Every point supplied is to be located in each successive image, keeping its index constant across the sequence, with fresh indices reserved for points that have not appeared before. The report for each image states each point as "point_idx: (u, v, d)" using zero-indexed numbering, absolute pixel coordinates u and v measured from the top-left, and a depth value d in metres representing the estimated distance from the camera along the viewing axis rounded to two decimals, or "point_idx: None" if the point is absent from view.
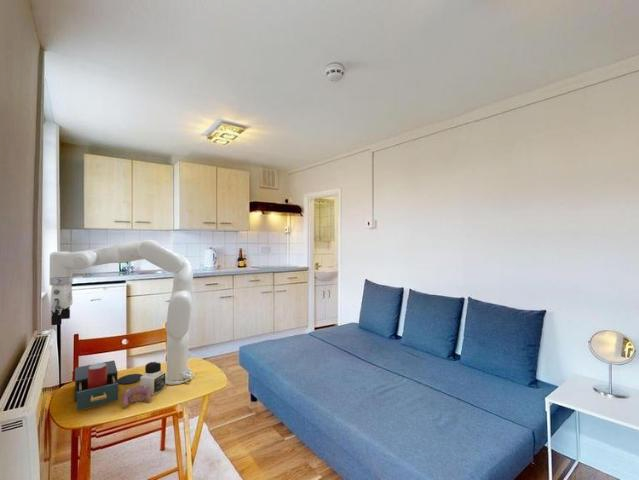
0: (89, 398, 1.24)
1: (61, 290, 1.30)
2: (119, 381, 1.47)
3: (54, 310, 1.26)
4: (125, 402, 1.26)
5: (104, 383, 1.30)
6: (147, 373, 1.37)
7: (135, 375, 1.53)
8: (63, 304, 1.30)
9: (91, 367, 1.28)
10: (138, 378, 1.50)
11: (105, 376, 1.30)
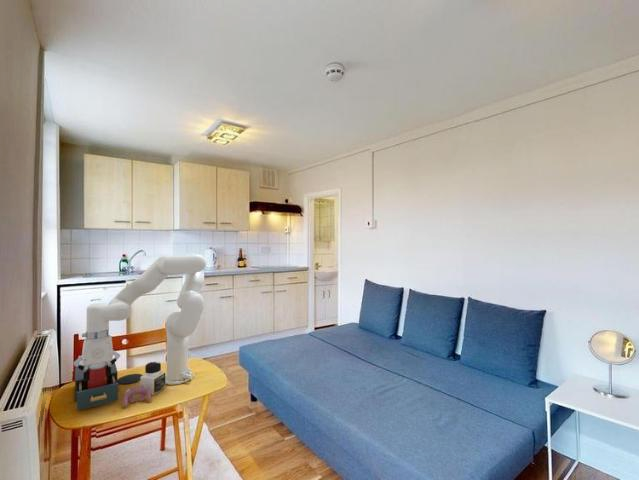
0: (89, 398, 1.24)
1: (83, 345, 1.26)
2: (119, 381, 1.47)
3: None
4: (125, 402, 1.26)
5: (104, 383, 1.30)
6: (147, 373, 1.37)
7: (135, 375, 1.53)
8: (82, 360, 1.25)
9: (91, 367, 1.28)
10: (138, 378, 1.50)
11: (105, 376, 1.30)
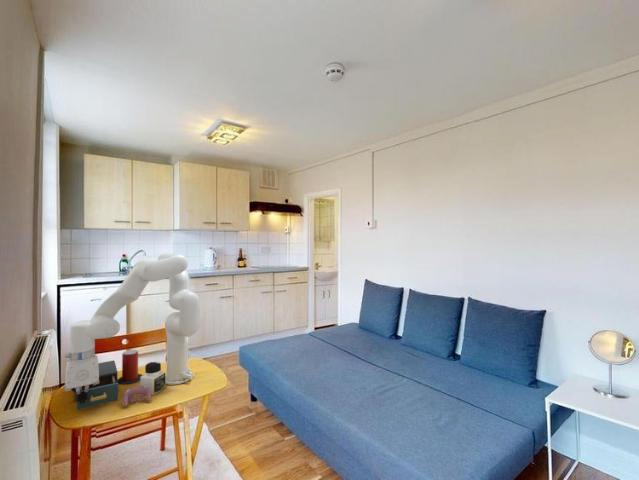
0: (89, 398, 1.24)
1: (66, 367, 1.17)
2: (119, 381, 1.47)
3: (70, 388, 1.19)
4: (125, 402, 1.26)
5: (125, 369, 1.46)
6: (147, 373, 1.37)
7: None
8: (65, 383, 1.16)
9: None
10: (138, 378, 1.50)
11: (126, 364, 1.46)
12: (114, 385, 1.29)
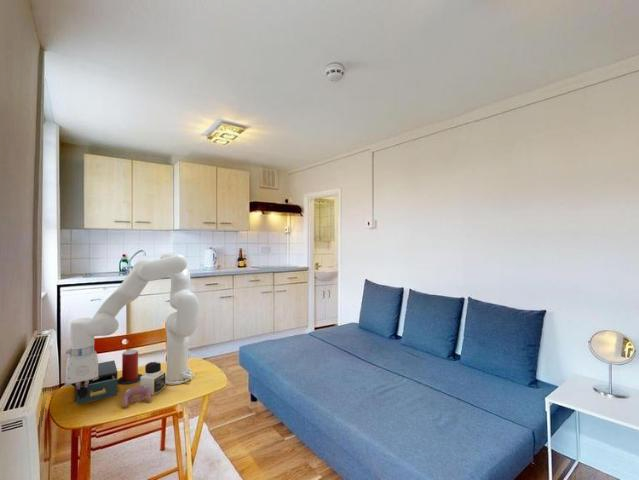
0: (89, 393, 1.28)
1: (67, 362, 1.21)
2: (119, 381, 1.47)
3: None
4: (125, 402, 1.26)
5: (125, 369, 1.46)
6: (147, 373, 1.37)
7: None
8: (66, 378, 1.20)
9: None
10: (138, 378, 1.50)
11: (126, 364, 1.46)
12: (113, 381, 1.32)
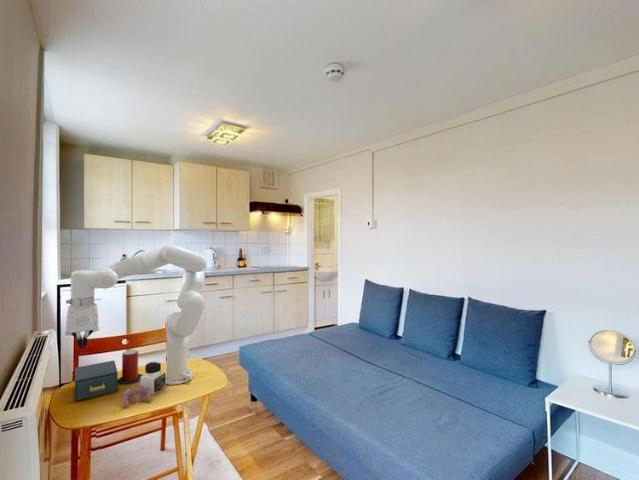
0: (88, 388, 1.31)
1: (67, 312, 1.22)
2: (119, 381, 1.47)
3: (71, 333, 1.24)
4: (125, 402, 1.26)
5: (125, 369, 1.46)
6: (147, 373, 1.37)
7: None
8: (66, 327, 1.21)
9: None
10: (138, 378, 1.50)
11: (126, 364, 1.46)
12: (112, 377, 1.36)
